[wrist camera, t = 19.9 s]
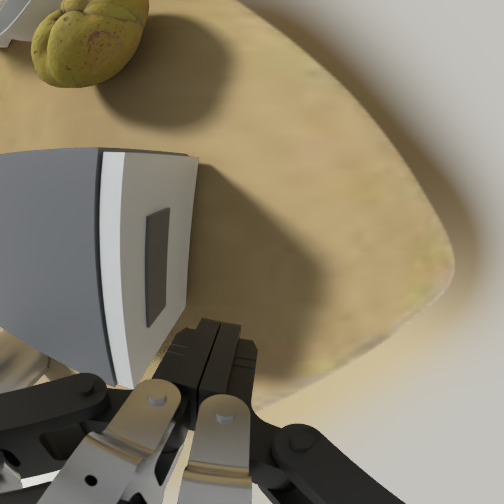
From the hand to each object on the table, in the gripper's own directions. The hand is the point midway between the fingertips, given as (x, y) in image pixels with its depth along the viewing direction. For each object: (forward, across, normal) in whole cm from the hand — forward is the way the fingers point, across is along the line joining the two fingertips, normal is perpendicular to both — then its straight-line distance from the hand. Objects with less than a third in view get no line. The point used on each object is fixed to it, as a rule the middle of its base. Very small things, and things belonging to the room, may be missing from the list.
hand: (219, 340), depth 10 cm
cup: (+14, +26, -24) cm, 38 cm away
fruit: (+14, +16, -18) cm, 28 cm away
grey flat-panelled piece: (+13, +13, 0) cm, 18 cm away
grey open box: (+14, +14, 0) cm, 20 cm away
